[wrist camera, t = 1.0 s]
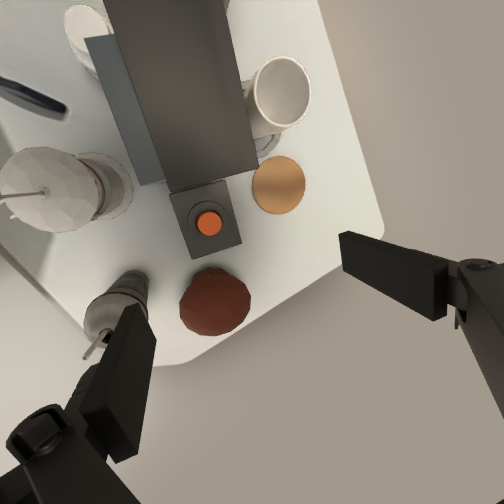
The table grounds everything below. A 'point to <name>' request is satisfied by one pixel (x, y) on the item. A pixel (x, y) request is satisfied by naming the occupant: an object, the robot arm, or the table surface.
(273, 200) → the disc
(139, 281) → the beverage cup
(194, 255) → the power switch
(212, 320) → the muffin
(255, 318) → the table surface
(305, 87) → the drinking glass
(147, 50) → the coffee maker
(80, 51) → the pill bottle
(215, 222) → the power button
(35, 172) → the french press
